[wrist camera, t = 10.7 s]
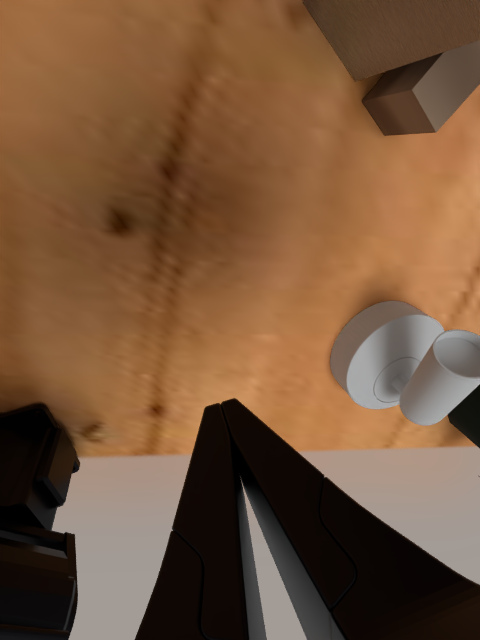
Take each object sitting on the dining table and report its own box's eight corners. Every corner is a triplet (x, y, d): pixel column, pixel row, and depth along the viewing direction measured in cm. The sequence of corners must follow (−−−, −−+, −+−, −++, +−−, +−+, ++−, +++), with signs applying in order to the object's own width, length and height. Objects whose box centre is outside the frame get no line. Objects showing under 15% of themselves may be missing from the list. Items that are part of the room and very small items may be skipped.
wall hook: (562, 327, 17) (528, 450, 22) (423, 268, 25) (422, 367, 30) (411, 390, 16) (412, 503, 21) (320, 308, 24) (336, 403, 29)
